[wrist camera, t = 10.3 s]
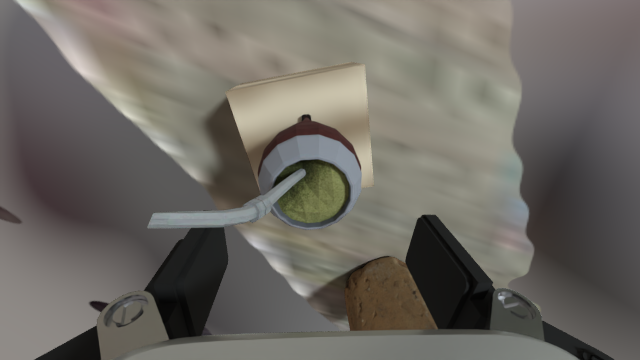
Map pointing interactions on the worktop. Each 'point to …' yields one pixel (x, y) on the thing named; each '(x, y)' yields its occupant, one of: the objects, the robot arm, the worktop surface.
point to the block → (385, 298)
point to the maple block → (305, 109)
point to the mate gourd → (291, 183)
